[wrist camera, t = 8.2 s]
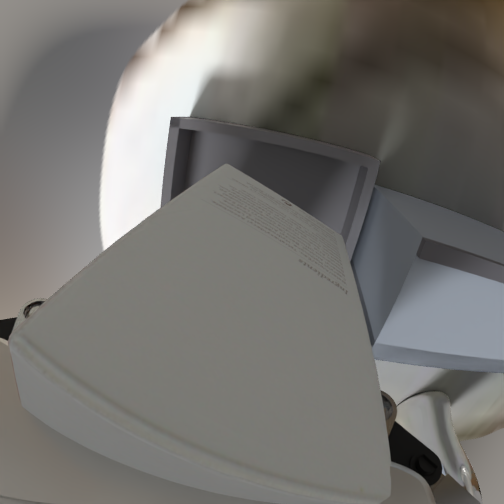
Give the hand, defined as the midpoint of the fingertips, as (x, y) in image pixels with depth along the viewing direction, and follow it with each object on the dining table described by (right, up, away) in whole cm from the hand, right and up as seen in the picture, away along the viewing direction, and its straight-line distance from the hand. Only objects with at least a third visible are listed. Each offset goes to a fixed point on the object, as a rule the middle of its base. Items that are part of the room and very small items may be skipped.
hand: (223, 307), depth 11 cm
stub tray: (+1, +3, +7) cm, 7 cm away
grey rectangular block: (+12, +2, +5) cm, 13 cm away
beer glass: (+16, -13, +11) cm, 24 cm away
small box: (0, +1, +3) cm, 3 cm away
